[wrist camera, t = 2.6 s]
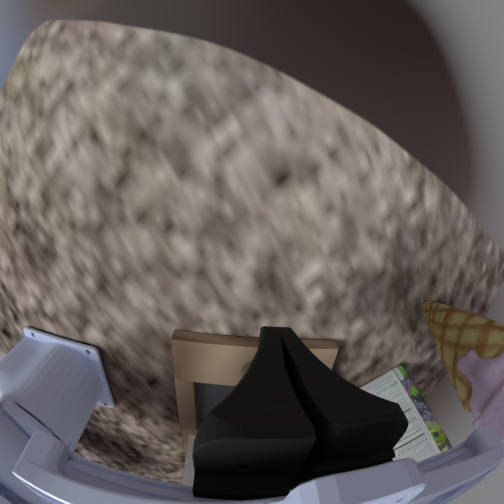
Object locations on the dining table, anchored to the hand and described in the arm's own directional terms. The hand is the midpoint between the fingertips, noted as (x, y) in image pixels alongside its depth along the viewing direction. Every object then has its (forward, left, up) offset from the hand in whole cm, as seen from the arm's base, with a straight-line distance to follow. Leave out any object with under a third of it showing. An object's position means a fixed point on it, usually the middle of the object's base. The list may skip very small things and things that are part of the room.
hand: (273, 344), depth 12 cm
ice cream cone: (+14, -1, -7) cm, 15 cm away
